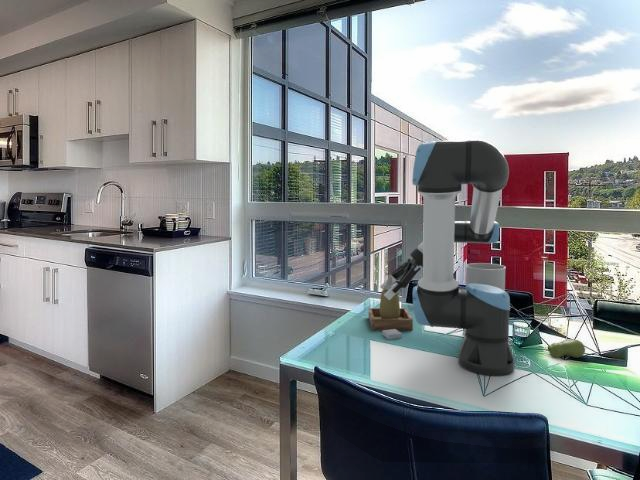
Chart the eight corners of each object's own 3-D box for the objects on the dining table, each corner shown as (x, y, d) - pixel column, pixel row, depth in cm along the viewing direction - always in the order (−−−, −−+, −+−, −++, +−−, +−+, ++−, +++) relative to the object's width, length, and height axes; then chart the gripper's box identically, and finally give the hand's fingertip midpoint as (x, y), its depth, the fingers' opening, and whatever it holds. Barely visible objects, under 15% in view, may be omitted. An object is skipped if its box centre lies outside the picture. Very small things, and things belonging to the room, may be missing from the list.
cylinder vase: (462, 339, 139) (463, 267, 136) (467, 328, 150) (469, 262, 147) (501, 345, 133) (504, 270, 130) (504, 333, 144) (506, 264, 141)
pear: (587, 342, 119) (550, 345, 122) (589, 359, 120) (552, 362, 122) (579, 336, 125) (544, 339, 127) (581, 352, 125) (546, 355, 127)
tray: (412, 330, 149) (412, 319, 148) (371, 330, 149) (371, 319, 149) (405, 317, 164) (405, 308, 163) (368, 317, 164) (368, 308, 164)
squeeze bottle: (377, 323, 154) (377, 277, 152) (380, 317, 161) (380, 273, 159) (399, 325, 151) (399, 278, 149) (401, 318, 159) (401, 274, 157)
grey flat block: (401, 338, 141) (401, 333, 141) (388, 340, 140) (388, 335, 139) (395, 334, 146) (395, 328, 146) (382, 335, 144) (382, 330, 144)
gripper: (439, 267, 141) (396, 308, 143) (423, 256, 166) (387, 292, 168) (424, 252, 140) (381, 294, 143) (410, 243, 165) (374, 279, 167)
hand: (384, 293), depth 155 cm, fingers open, 13 cm apart
